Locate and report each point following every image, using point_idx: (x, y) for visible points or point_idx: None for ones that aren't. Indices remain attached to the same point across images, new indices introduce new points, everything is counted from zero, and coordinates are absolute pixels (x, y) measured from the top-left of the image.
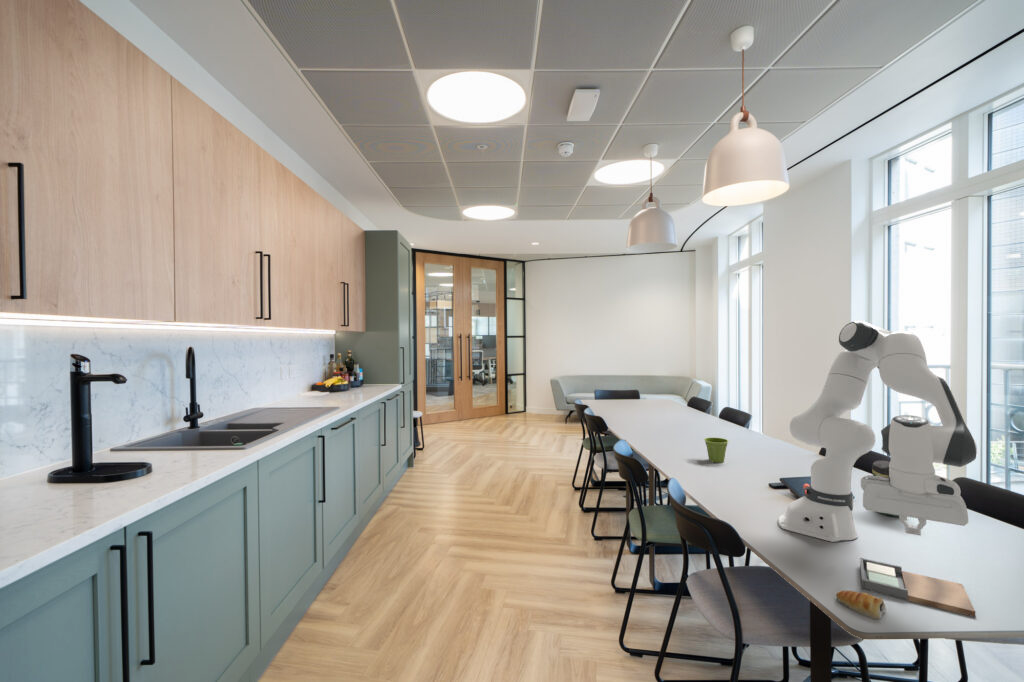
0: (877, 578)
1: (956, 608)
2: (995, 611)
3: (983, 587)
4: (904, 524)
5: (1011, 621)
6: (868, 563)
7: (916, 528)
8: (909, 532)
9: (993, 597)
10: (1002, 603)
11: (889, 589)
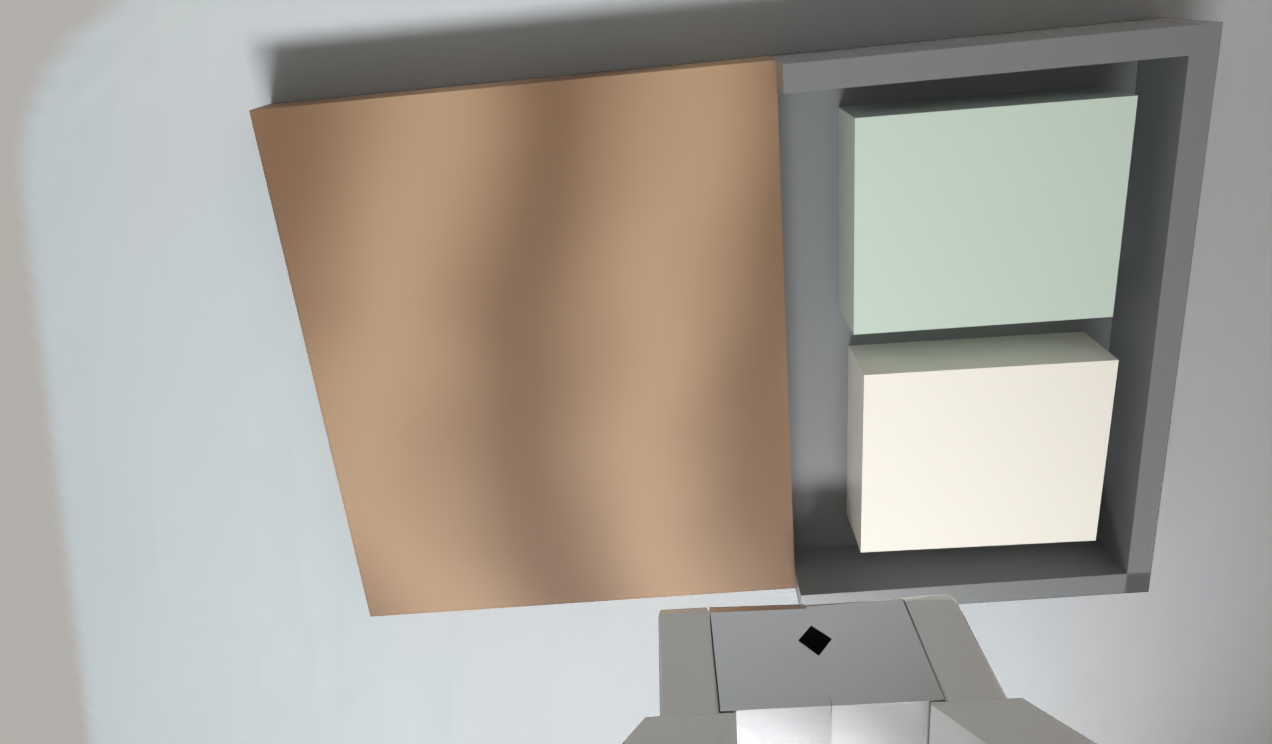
0: (1044, 195)
1: (391, 95)
2: (159, 332)
3: (262, 704)
4: (1060, 737)
5: (50, 218)
6: (1081, 517)
7: (751, 723)
8: (881, 604)
9: (194, 578)
10: (136, 512)
11: (941, 44)
